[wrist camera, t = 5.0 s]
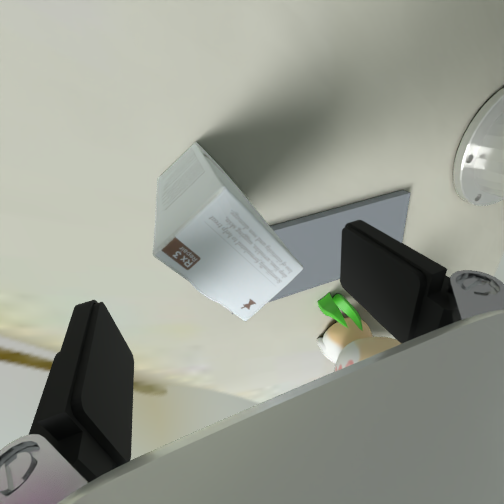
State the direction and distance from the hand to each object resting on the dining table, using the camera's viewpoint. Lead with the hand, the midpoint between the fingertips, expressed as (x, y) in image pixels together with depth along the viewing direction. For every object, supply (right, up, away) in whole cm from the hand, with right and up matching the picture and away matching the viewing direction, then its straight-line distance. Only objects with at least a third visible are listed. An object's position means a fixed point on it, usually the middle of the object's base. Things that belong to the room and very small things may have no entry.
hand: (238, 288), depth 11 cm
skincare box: (-4, +7, +12) cm, 14 cm away
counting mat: (+7, +2, +18) cm, 20 cm away
